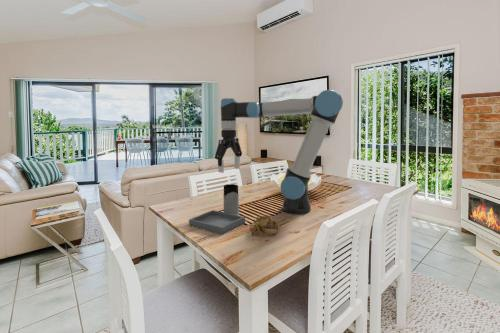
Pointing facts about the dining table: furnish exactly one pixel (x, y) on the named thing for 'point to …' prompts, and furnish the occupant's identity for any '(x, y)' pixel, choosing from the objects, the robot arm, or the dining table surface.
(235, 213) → the glass holder
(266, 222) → the crab model
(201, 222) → the grey square tray
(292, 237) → the dining table surface
